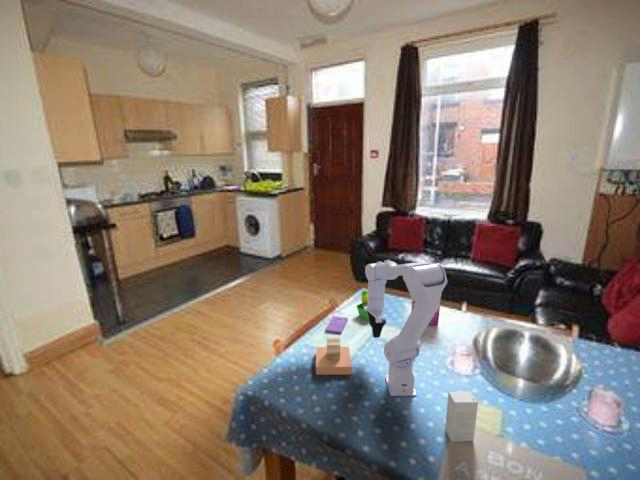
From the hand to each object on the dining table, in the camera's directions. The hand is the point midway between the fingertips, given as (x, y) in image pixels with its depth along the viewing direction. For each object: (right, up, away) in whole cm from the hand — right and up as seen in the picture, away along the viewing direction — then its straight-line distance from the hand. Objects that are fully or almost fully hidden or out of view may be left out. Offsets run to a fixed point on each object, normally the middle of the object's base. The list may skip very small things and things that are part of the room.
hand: (374, 331), depth 119 cm
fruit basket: (+3, -2, +35) cm, 35 cm away
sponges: (-12, -5, +25) cm, 28 cm away
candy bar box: (+26, -4, +27) cm, 38 cm away
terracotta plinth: (-15, -11, -1) cm, 19 cm away
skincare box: (+17, -19, -31) cm, 40 cm away
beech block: (-15, -8, -2) cm, 17 cm away
